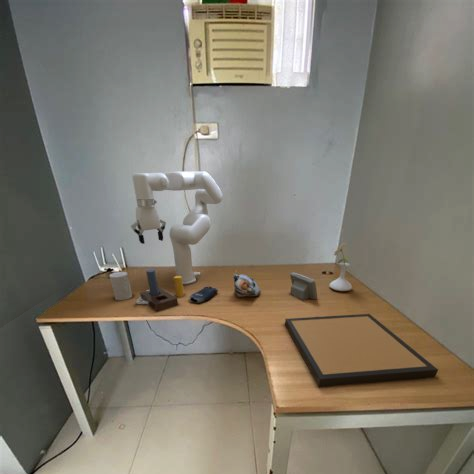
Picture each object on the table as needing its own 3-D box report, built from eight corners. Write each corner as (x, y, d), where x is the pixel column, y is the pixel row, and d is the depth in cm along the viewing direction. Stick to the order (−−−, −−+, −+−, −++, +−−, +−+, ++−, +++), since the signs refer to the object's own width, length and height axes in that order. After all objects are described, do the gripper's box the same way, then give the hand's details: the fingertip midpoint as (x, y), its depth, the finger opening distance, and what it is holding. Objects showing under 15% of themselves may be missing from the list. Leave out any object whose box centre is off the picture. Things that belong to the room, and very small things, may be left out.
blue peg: (157, 297, 129) (153, 268, 122) (161, 299, 126) (156, 270, 119) (150, 299, 127) (144, 270, 120) (153, 301, 124) (148, 272, 117)
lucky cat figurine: (265, 294, 130) (263, 276, 119) (247, 308, 127) (243, 290, 116) (247, 279, 138) (243, 260, 127) (230, 291, 135) (224, 273, 124)
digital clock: (318, 300, 124) (321, 279, 119) (302, 302, 121) (305, 281, 116) (300, 288, 137) (302, 269, 132) (285, 291, 135) (287, 271, 130)
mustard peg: (181, 293, 134) (179, 275, 129) (185, 295, 131) (183, 277, 126) (174, 295, 131) (172, 276, 127) (178, 297, 129) (175, 278, 124)
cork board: (318, 386, 71) (434, 377, 74) (320, 379, 70) (438, 369, 73) (285, 324, 103) (367, 319, 106) (285, 318, 101) (369, 313, 104)
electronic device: (202, 293, 136) (185, 300, 123) (203, 283, 134) (186, 289, 121) (217, 298, 133) (201, 306, 120) (219, 288, 131) (203, 295, 118)
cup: (126, 300, 126) (120, 277, 120) (111, 299, 127) (105, 276, 122) (135, 294, 133) (130, 272, 127) (121, 293, 134) (116, 271, 129)
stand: (161, 293, 133) (160, 287, 132) (178, 304, 121) (177, 298, 119) (141, 299, 127) (139, 292, 126) (156, 311, 115) (155, 304, 113)
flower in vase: (339, 284, 143) (348, 238, 131) (356, 290, 134) (366, 242, 122) (321, 288, 138) (329, 241, 126) (337, 295, 129) (347, 245, 117)
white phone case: (151, 304, 121) (161, 292, 134) (150, 301, 120) (160, 290, 134) (136, 304, 122) (147, 292, 135) (135, 301, 121) (147, 289, 134)
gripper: (159, 202, 124) (164, 238, 132) (123, 204, 113) (131, 243, 121) (166, 203, 119) (171, 240, 127) (130, 205, 108) (138, 245, 116)
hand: (152, 241), depth 124 cm, fingers open, 9 cm apart
